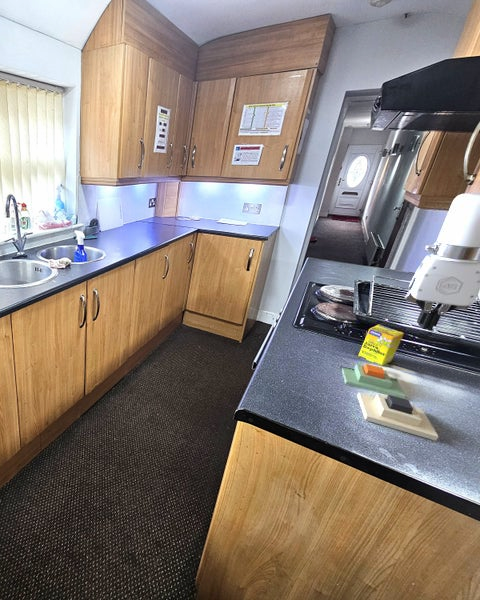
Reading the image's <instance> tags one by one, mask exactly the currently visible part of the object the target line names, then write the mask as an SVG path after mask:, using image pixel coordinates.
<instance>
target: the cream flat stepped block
mask: <svg viewBox="0 0 480 600" xmlns="http://www.w3.org/2000/svg"><path fill="white" fill-rule="evenodd" d="M387 396H388V395H384V394H381V393H376V395H371V394H367V393H365V392H361V391H359V392H357V400H358V403H359V405H360V408H361V409H360V410H361V411H362V415H363V417H364V418H363V419H364V421H367V422H371V423H373V424H378V425H381V426H383V427H387V428H391V429H394V430H398V431H401V432H405V433H408V434H412V435H415V436H417V437H421V438H425V439H428V440H431V441H434V442H437V441H438V439H439V435H438V433H437V432H436V430H435V428H434V426H433V424H432V423H431V421H430V420H429V418H428V417H427V414H426V413H425V411H424V409H423V408H419V407H416V406H415V405H414V404H413V402H410V404H411V406H412V407H413V411H412V413H411V414H407V413H404V412H400V411H397V410H393V409H389V407H388V405H387V403H386V399H387Z"/></svg>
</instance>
